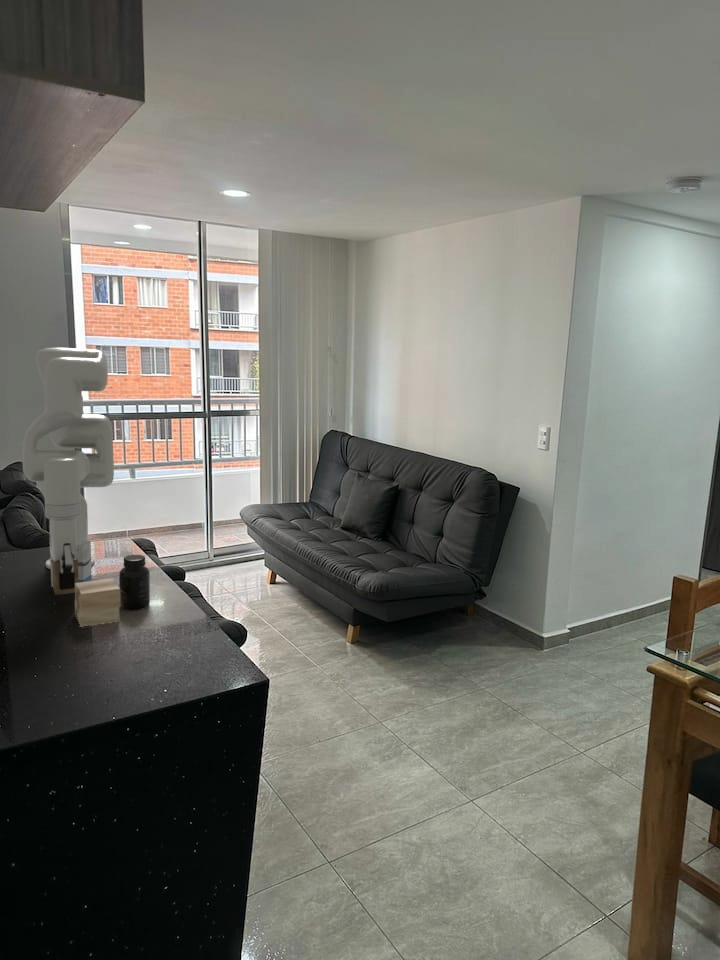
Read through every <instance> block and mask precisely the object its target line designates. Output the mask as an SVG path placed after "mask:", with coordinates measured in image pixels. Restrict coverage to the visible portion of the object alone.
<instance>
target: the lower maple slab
mask: <svg viewBox="0 0 720 960" xmlns="http://www.w3.org/2000/svg"><path fill="white" fill-rule="evenodd" d="M75 615H76V616H75ZM74 616H75V618H76V617H77V618H76V621H77V620H78V621H77V623H78V622H79V623H78V625H79V624H80V625H79V628H80V627H82V628H84V627H83V626H88V625H95V626H98V625H97V624H102V623H108V624H111V623H110V622H115V621H119V622H120V606H117V607H111V608H104V609H97V610H91V611H84V612H82V611H81V609H80V608H79V606H78V604H77V602H76V601H75V600H74ZM115 623H116V622H115ZM102 625H103V624H102Z"/></svg>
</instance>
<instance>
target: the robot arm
mask: <svg viewBox="0 0 720 960" xmlns="http://www.w3.org/2000/svg"><path fill="white" fill-rule="evenodd" d="M35 362H36V368H37V371H38V374H39V377H40V380H41V382H42V384H43V386H44V401H43V402H44V410H43V412H42V413H41V414H40V415H39V416H38V417H37V418H36V419H35V420H34V421H33V422H32V423H31V424H30V426H29V427H28V429H27V430H26V432H25V435H24V438H23V444H22V472H23V475H24V477H25V478H26V479H27V480H28V481H30V482H34V483H43V489H44V490H43V492H44V511H45V512H44V515H45V518H46V519H48V520H49V554H50V553H51V556H52V559H53V561H55V562H57V561H59V560H60V573H59V587H60V590H64V589H72V588H75V575H74V567H73V560H75V559H76V557H77V540H81V541H89V527H88V526H89V525H88V523H89V522H88V502H87V500H86V498H85V497H84V496H83V495H82V494H81V489H83V488H105V487H109V486H110V485H112V484H113V482H114V478H115V477H114V476H115V462H114V459H115V458H114V435H113V427H112V422H111V420H110V418H109V417H108V416H106V415H103V414H97V413H95V414H93V413H87V414H86V413H84V398H83V395H82V394H83V393H82V392H103V391H104V390H105V389H106V387H107V384H108V375H109V374H108V372H109V371H108V360H107V357H106V354H105V353H104V351H102V350H99V349H92V348H91V349H90V348H72V347H46V348H45V347H44V348H43V349H40V350H38V351H37V353H36V356H35ZM48 434H49V435H50V440H51V443H52V445H53V446H54V447H57V448H61V449H42V450H41V449H39V450H38V449H37V446H38V443H39V442H40V441H41V439H42V438H44V437H45V436H47V435H48ZM65 449H66V450H65ZM73 449H74V450H73ZM76 449H93V450H94V451H96V452H95V453H92V452H91V453H90V452H89V453H88V452H87V453H85V452H84V451H81V450H76ZM62 557H65V560H62ZM95 561H96V559H95V558H94V557H93V556H91V567H92V566H94V564H95V563H96V562H95ZM63 562H65V564H64V565H63ZM45 567H46V568H47V569H49V570H51V558H49V559H47V560H46V561H45Z"/></svg>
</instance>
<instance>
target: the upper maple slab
mask: <svg viewBox="0 0 720 960" xmlns="http://www.w3.org/2000/svg"><path fill="white" fill-rule="evenodd" d="M75 601H76V602H77V604H78V606H79V608H80V609H81V611H82V612H84V611H91V610H97V609H104V608H111V607H117V606H119V607H120V588H119V585H118V584H117V583H116V581H115V580H114V579H113V578H105V579H97V580H92V581H88V582H80V583H75V593H74V602H75Z"/></svg>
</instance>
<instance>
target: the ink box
mask: <svg viewBox="0 0 720 960" xmlns="http://www.w3.org/2000/svg"><path fill="white" fill-rule="evenodd" d="M91 543H92V542H91V540H88V541H81V540H77V559H78V579H79V583H80V582H88V581H93V580H92V566H91V557H92V545H91ZM49 554H50V558H49V559H51V569H50V582H51V585H50V586H51V587H50V588H52V587H53V573H52V556H51V553H50V552H49Z"/></svg>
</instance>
